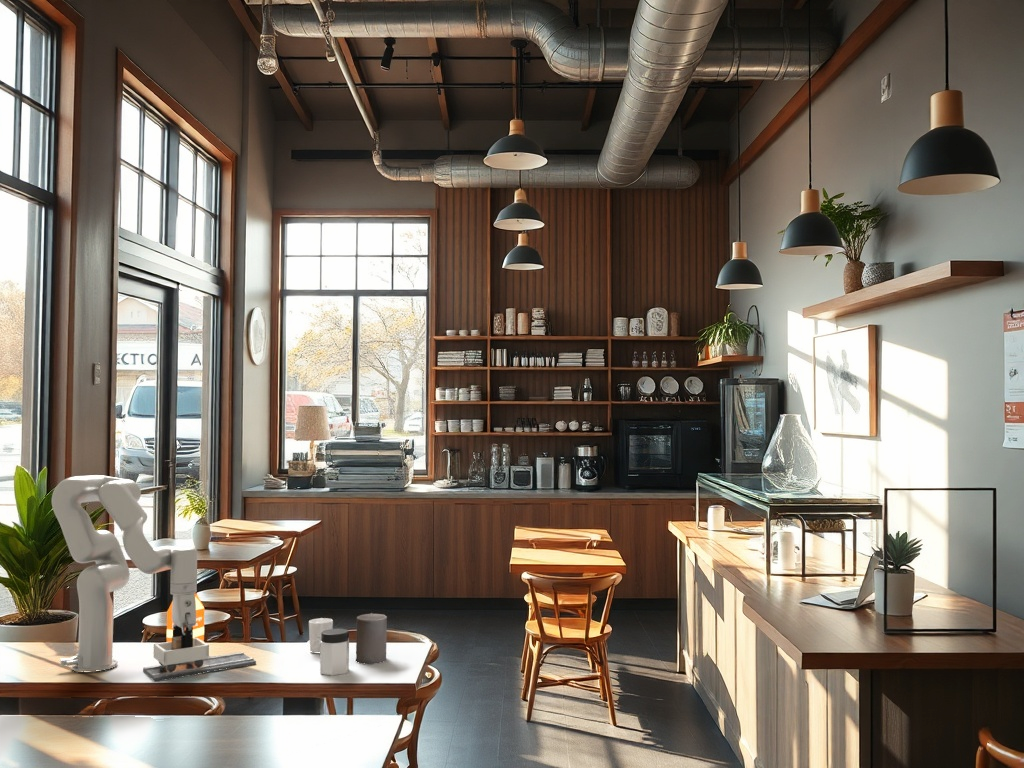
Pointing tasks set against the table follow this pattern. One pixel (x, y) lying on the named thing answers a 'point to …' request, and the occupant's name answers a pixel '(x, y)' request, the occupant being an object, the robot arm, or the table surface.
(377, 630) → the pillar candle
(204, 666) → the track
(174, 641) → the walnut block
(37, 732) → the table surface
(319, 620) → the white cup
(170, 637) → the orange juice
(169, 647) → the cart
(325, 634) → the jar
